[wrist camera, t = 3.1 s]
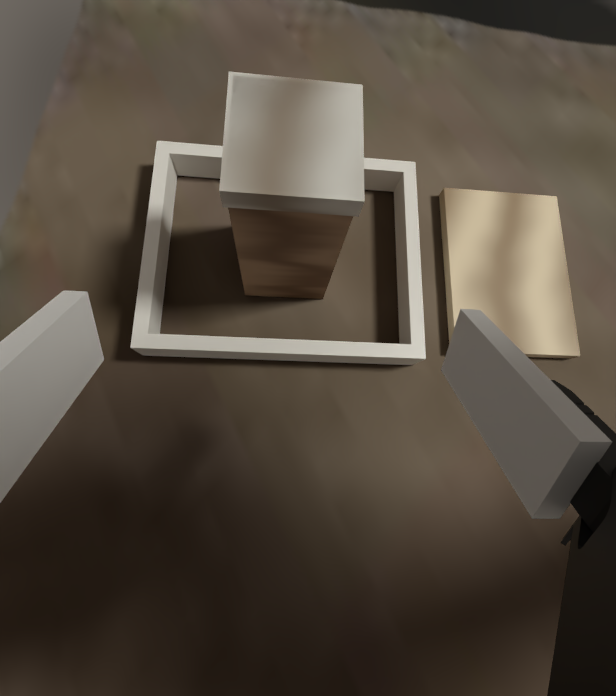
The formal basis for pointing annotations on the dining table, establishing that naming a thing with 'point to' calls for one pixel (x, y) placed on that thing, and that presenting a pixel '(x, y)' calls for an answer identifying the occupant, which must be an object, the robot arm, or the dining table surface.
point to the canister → (291, 179)
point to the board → (509, 267)
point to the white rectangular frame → (152, 343)
